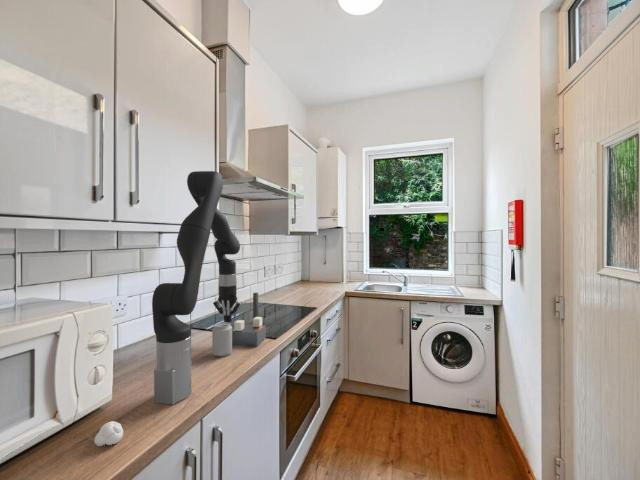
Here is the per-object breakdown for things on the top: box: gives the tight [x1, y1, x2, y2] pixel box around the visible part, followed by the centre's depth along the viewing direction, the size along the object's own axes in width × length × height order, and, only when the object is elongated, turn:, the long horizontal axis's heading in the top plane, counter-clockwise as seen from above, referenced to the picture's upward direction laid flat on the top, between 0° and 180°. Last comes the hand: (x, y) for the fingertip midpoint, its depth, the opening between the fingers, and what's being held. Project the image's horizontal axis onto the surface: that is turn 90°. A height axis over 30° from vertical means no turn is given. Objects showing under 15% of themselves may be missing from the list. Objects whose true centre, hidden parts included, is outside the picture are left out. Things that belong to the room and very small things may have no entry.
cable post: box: [252, 292, 259, 320], centre depth 136 cm, size 4×4×20 cm
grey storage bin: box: [232, 323, 267, 348], centre depth 128 cm, size 10×12×6 cm
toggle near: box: [233, 319, 245, 331], centre depth 126 cm, size 4×3×4 cm
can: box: [211, 321, 233, 358], centre depth 115 cm, size 8×8×12 cm
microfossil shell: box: [93, 421, 124, 447], centre depth 66 cm, size 4×5×6 cm
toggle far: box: [252, 316, 263, 327], centre depth 131 cm, size 4×3×4 cm
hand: (227, 323), depth 127 cm, fingers closed
